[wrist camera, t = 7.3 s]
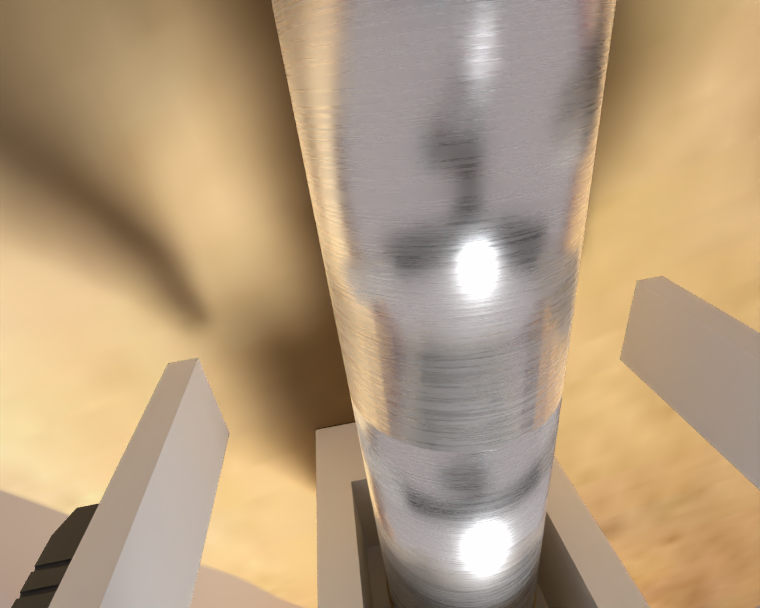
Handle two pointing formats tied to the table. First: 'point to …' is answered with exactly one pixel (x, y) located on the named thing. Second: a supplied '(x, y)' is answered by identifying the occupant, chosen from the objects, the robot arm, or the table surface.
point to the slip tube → (451, 261)
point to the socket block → (364, 557)
